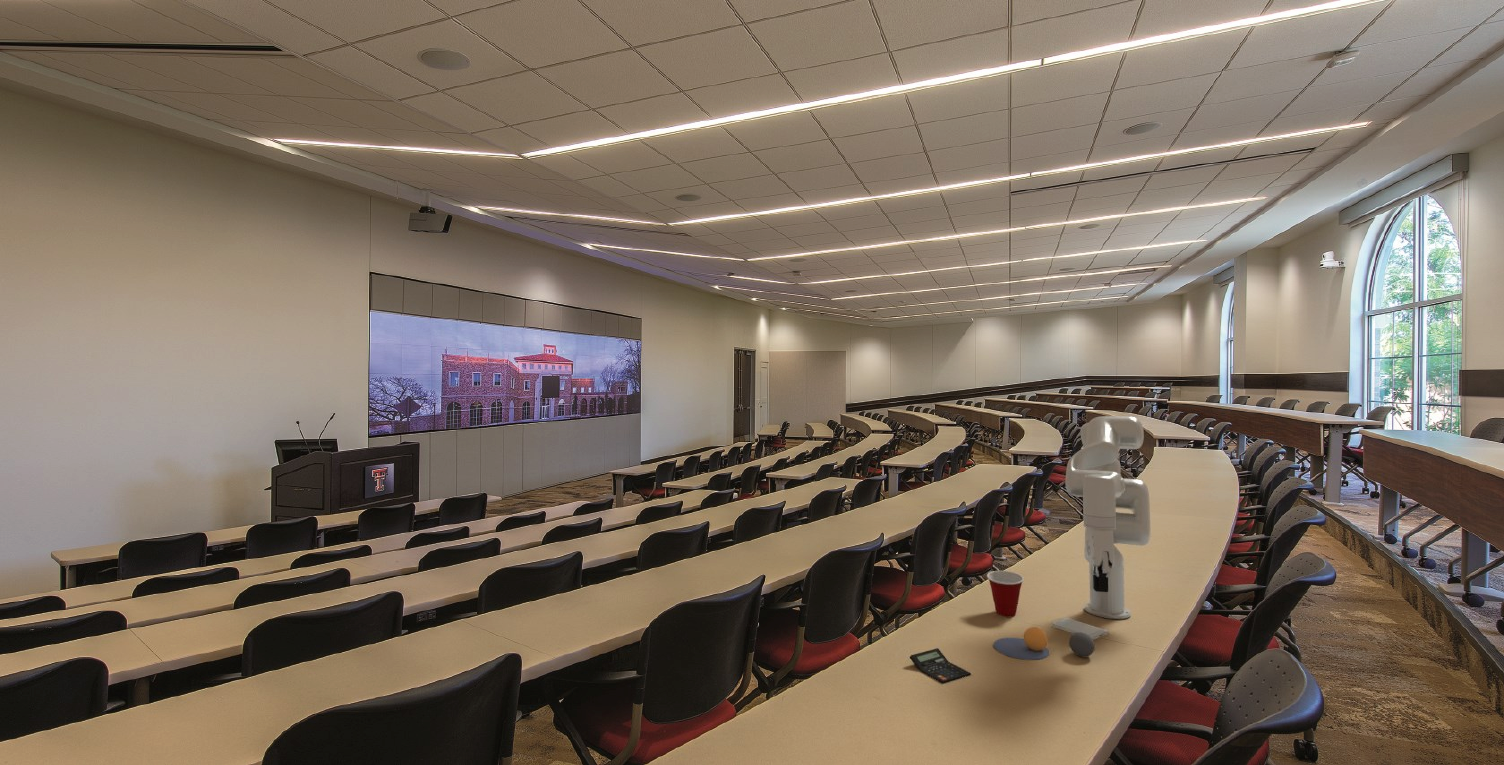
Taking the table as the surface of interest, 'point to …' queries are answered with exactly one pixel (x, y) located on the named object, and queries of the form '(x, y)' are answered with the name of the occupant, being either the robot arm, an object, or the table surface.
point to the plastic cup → (1005, 591)
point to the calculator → (938, 666)
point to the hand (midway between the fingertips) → (1100, 590)
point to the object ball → (1035, 638)
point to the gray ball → (1081, 644)
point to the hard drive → (1079, 628)
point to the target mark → (1018, 649)
